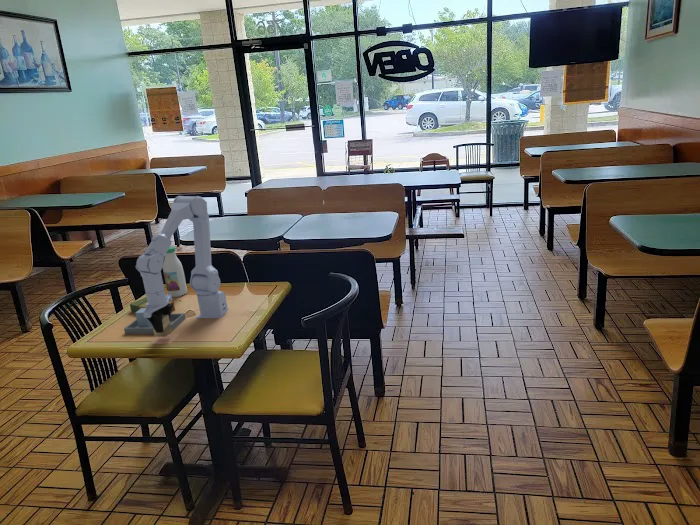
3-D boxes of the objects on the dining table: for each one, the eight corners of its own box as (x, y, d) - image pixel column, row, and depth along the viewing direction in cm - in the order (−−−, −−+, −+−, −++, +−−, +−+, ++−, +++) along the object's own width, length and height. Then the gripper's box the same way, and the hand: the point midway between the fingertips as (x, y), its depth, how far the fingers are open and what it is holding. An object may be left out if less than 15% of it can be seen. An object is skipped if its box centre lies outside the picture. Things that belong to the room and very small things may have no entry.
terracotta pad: (180, 335, 175) (180, 334, 175) (170, 345, 169) (169, 343, 169) (161, 335, 177) (161, 334, 176) (150, 345, 170) (150, 343, 170)
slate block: (155, 323, 186) (151, 308, 184) (149, 328, 182) (145, 312, 180) (144, 323, 186) (141, 308, 185) (138, 328, 183) (135, 312, 181)
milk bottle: (179, 289, 220) (171, 244, 214) (191, 292, 215) (182, 246, 209) (164, 296, 214) (154, 249, 208) (175, 298, 209) (166, 251, 203)
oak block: (171, 331, 174) (168, 314, 172) (165, 336, 170) (161, 319, 168) (161, 331, 174) (157, 314, 172) (154, 336, 171) (150, 319, 169)
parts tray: (185, 319, 188) (184, 313, 187) (169, 335, 176) (167, 328, 176) (144, 319, 191) (143, 313, 190) (125, 335, 179) (123, 328, 179)
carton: (157, 320, 191) (155, 309, 189) (131, 313, 199) (128, 303, 198) (176, 311, 197) (173, 301, 196) (149, 305, 206) (147, 295, 204)
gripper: (155, 282, 175) (163, 319, 179) (131, 299, 161) (140, 338, 165) (174, 282, 173) (182, 319, 178) (151, 299, 160) (160, 338, 164)
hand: (163, 328), depth 171 cm, fingers closed on oak block, 4 cm apart
